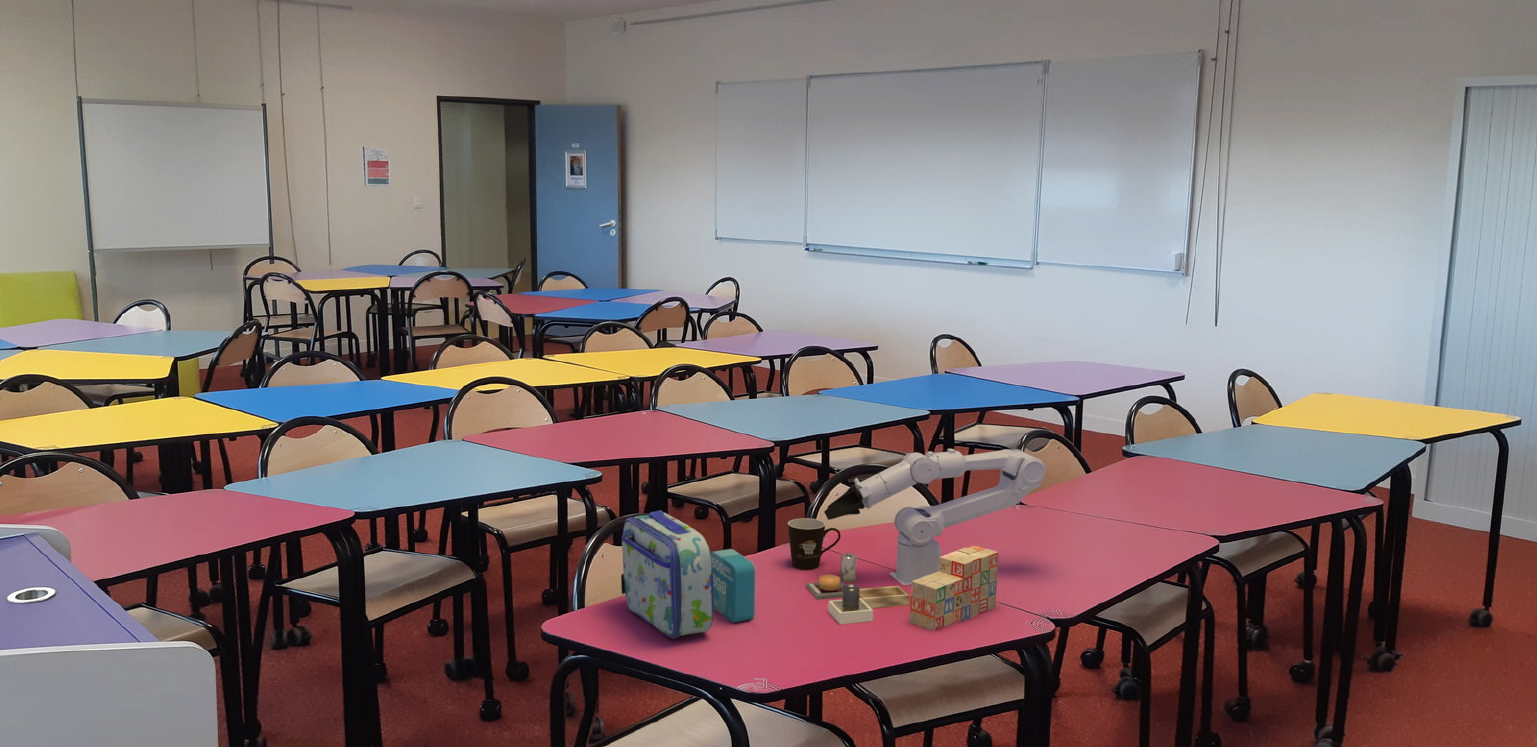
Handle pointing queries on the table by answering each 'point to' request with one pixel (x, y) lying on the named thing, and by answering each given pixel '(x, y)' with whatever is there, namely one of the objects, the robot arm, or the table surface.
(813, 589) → the grey square frame
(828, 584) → the button
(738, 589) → the data package
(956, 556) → the stack of blocks
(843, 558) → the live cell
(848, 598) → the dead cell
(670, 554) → the lunch box
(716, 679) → the table surface
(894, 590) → the trough
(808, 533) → the coffee mug
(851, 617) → the white square tray
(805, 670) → the table surface
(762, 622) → the table surface
